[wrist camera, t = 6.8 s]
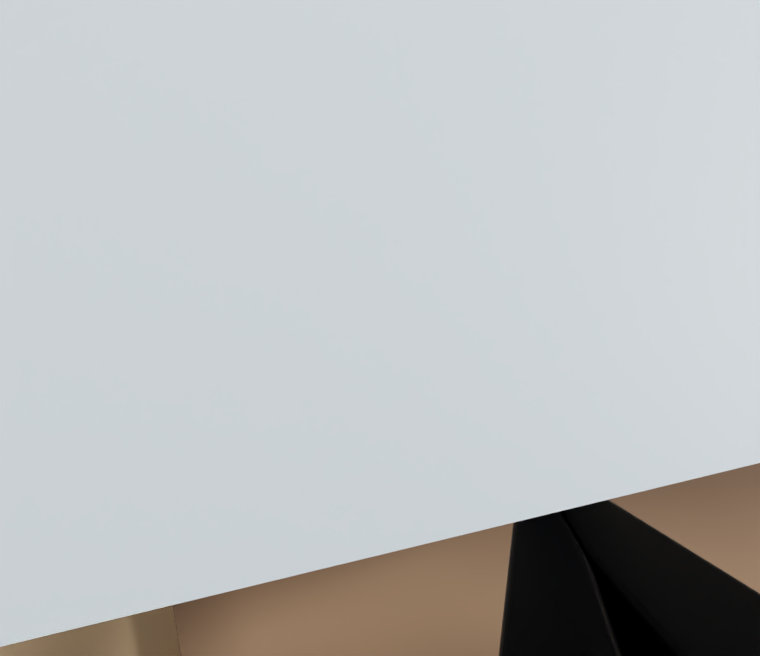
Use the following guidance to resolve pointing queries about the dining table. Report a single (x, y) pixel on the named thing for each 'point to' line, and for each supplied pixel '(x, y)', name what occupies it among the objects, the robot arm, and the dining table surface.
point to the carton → (359, 280)
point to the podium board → (450, 584)
